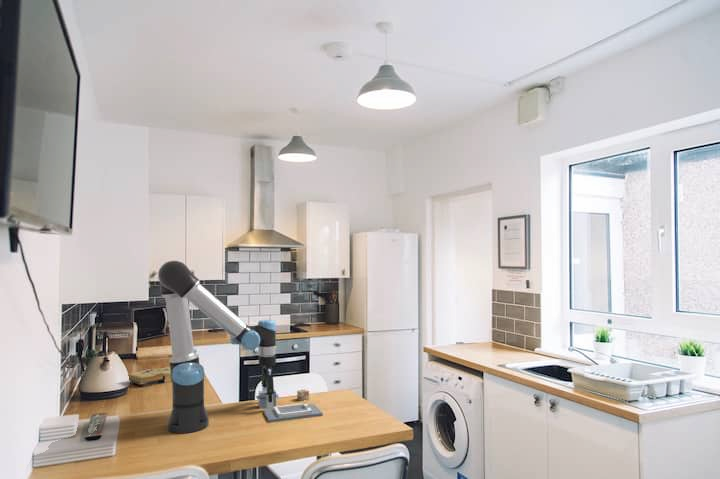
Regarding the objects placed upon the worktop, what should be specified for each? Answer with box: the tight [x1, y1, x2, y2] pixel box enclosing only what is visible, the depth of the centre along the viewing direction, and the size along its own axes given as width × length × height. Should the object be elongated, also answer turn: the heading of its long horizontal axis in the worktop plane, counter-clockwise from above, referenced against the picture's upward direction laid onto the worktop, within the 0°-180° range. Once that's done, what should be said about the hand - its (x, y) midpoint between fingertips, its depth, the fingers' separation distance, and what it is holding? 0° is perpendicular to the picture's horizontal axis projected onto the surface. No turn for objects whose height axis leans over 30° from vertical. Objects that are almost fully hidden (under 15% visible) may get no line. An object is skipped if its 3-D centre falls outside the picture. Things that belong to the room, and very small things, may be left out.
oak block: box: [296, 389, 310, 402], centre depth 227 cm, size 4×4×4 cm
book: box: [127, 365, 172, 387], centre depth 266 cm, size 25×17×6 cm
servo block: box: [255, 389, 280, 409], centre depth 217 cm, size 9×4×7 cm, turn 110°
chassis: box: [262, 402, 324, 423], centre depth 206 cm, size 22×14×2 cm, turn 110°
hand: (267, 405), depth 217 cm, fingers open, 11 cm apart
